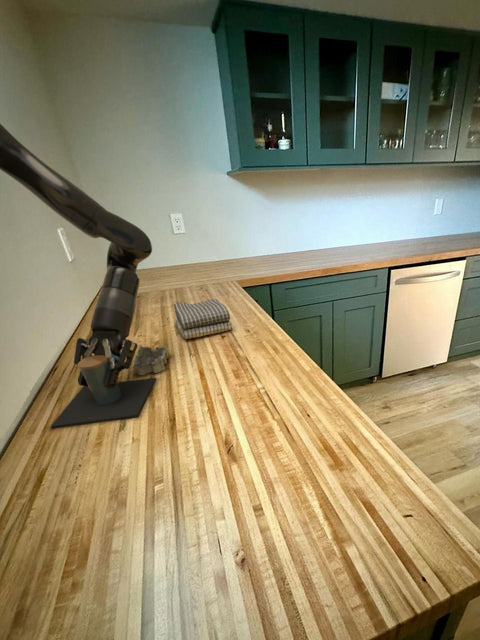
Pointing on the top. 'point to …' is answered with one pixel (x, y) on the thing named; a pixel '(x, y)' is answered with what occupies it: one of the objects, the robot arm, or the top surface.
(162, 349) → the egg carton
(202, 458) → the top surface
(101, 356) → the sugar canister
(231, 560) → the top surface
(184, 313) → the towel
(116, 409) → the counter mat
